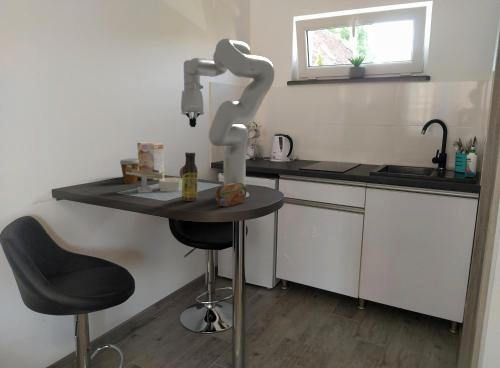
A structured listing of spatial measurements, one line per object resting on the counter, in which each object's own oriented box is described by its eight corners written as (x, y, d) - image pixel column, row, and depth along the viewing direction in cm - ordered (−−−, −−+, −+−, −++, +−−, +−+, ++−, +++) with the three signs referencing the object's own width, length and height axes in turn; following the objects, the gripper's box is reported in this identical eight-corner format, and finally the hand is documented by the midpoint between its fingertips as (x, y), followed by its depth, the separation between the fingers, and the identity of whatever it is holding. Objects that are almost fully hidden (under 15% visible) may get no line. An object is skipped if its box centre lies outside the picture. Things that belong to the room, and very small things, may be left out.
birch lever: (162, 178, 170) (163, 171, 170) (126, 174, 164) (127, 166, 164) (158, 174, 182) (159, 167, 182) (125, 170, 176) (126, 163, 176)
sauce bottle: (184, 202, 149) (183, 153, 145) (180, 199, 154) (179, 151, 151) (199, 201, 151) (199, 152, 148) (195, 198, 157) (195, 151, 153)
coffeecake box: (138, 176, 209) (136, 142, 205) (149, 175, 214) (147, 141, 210) (154, 180, 199) (152, 143, 196) (164, 178, 205) (163, 143, 201)
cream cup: (185, 190, 172) (185, 181, 171) (161, 192, 168) (160, 182, 167) (181, 186, 183) (181, 177, 182) (158, 187, 179) (157, 178, 178)
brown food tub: (117, 182, 190) (115, 159, 188) (132, 180, 198) (131, 157, 196) (128, 184, 185) (127, 161, 183) (144, 182, 193) (143, 159, 190)
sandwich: (219, 208, 140) (219, 186, 139) (214, 207, 142) (214, 185, 141) (246, 202, 151) (247, 181, 149) (241, 200, 153) (241, 180, 152)
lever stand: (152, 192, 168) (151, 173, 166) (138, 192, 166) (137, 174, 164) (150, 188, 176) (149, 171, 175) (137, 189, 174) (136, 171, 173)
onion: (195, 180, 200) (195, 161, 198) (200, 183, 192) (199, 164, 190) (178, 181, 197) (177, 162, 195) (181, 184, 188) (181, 164, 186)
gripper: (205, 88, 181) (206, 126, 184) (174, 87, 175) (175, 126, 179) (209, 87, 174) (209, 127, 177) (177, 86, 168) (178, 127, 172)
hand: (192, 126), depth 178 cm, fingers closed
